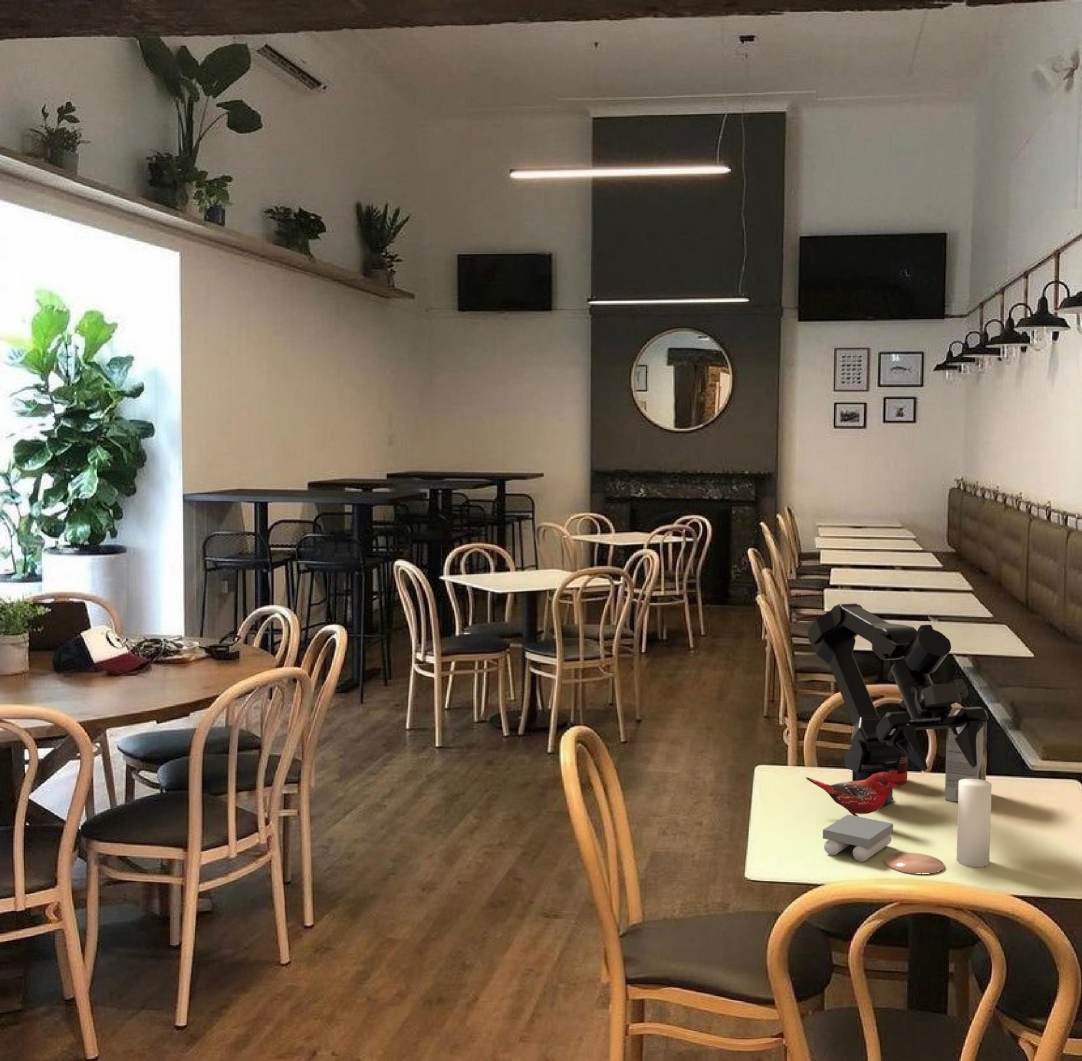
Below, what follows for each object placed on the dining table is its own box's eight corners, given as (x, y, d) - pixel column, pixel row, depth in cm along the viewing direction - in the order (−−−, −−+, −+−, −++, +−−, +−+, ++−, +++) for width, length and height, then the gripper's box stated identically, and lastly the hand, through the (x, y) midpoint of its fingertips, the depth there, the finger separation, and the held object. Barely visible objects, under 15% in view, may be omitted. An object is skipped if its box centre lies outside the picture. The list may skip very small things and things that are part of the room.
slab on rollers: (822, 853, 201) (822, 829, 201) (847, 837, 209) (847, 814, 209) (868, 863, 197) (869, 839, 196) (892, 846, 204) (893, 823, 204)
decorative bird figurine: (893, 832, 212) (894, 776, 211) (801, 812, 223) (802, 758, 222) (900, 828, 214) (901, 772, 213) (808, 808, 225) (809, 755, 225)
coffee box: (951, 787, 238) (953, 706, 237) (986, 792, 235) (988, 709, 234) (943, 800, 230) (945, 716, 229) (979, 805, 227) (981, 719, 226)
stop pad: (876, 866, 195) (876, 863, 195) (897, 851, 202) (898, 848, 202) (932, 878, 190) (932, 876, 190) (952, 862, 197) (952, 860, 197)
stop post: (952, 862, 197) (954, 783, 196) (962, 854, 201) (964, 776, 200) (983, 869, 194) (985, 789, 193) (993, 860, 198) (995, 782, 197)
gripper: (886, 665, 205) (919, 747, 195) (984, 660, 210) (1022, 740, 200) (861, 701, 213) (892, 781, 204) (956, 695, 218) (991, 773, 208)
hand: (950, 768), depth 204 cm, fingers open, 9 cm apart
